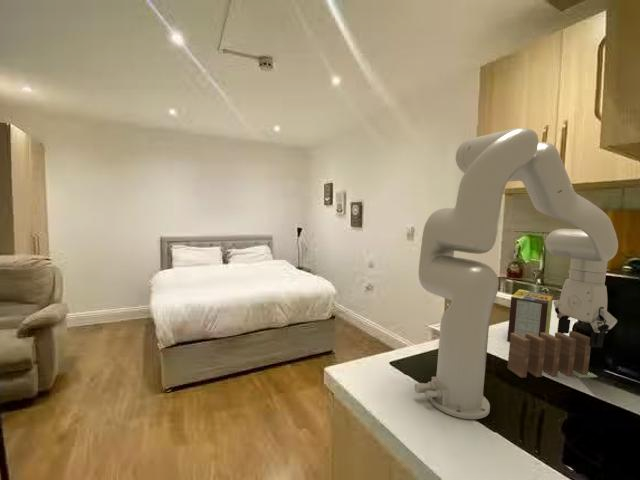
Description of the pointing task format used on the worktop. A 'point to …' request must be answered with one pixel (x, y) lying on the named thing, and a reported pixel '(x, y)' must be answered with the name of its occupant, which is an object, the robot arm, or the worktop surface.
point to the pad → (583, 375)
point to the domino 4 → (566, 354)
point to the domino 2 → (536, 354)
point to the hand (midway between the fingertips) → (578, 339)
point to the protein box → (530, 313)
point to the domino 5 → (581, 352)
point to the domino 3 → (551, 354)
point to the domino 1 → (518, 355)
